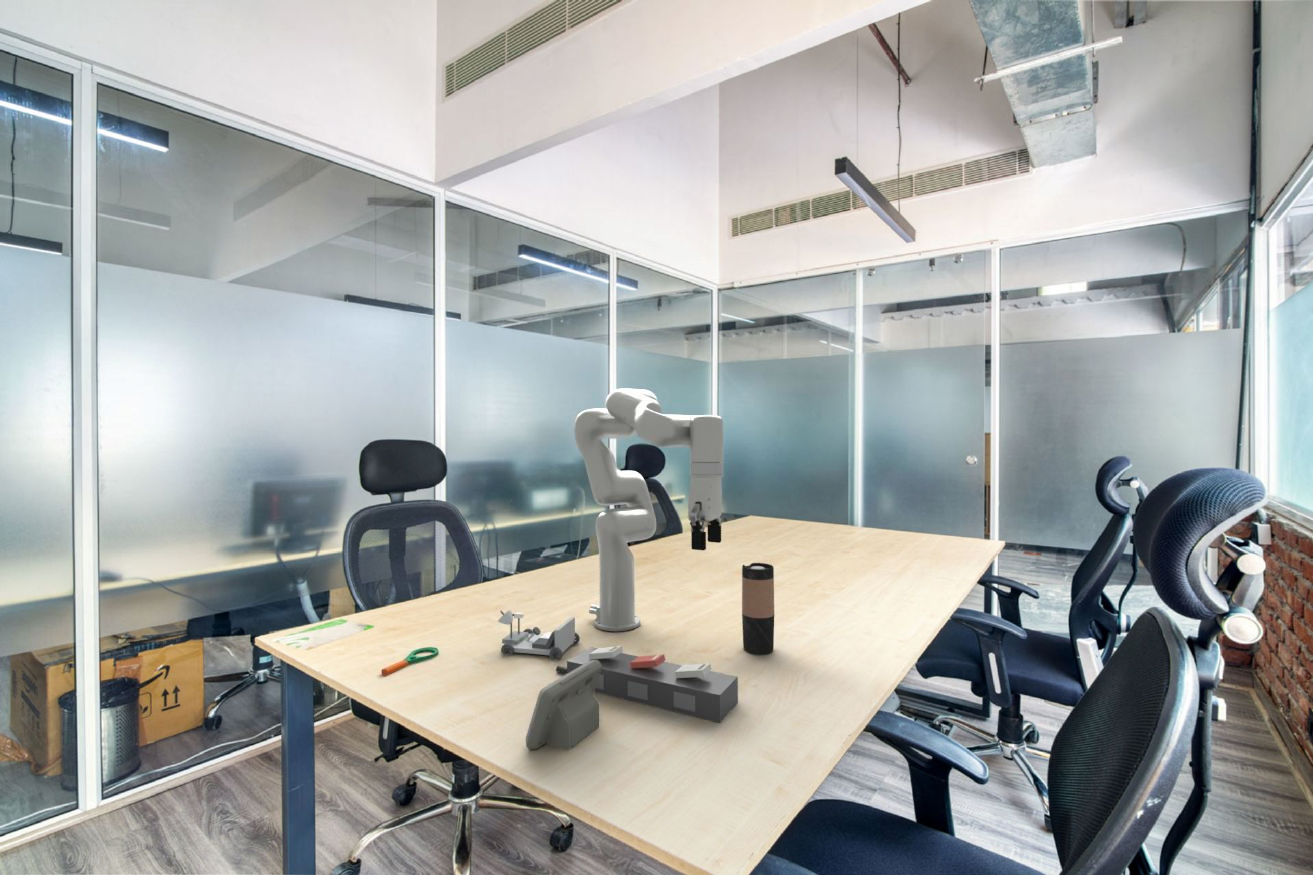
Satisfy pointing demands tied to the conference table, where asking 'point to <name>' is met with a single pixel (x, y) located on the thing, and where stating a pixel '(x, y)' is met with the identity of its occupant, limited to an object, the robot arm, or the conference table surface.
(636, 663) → the rocker middle
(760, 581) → the travel mug
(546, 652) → the toy car
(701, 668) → the rocker right
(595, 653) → the rocker left
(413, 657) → the magnifying glass
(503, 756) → the conference table surface
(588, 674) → the digital clock
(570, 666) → the power strip
